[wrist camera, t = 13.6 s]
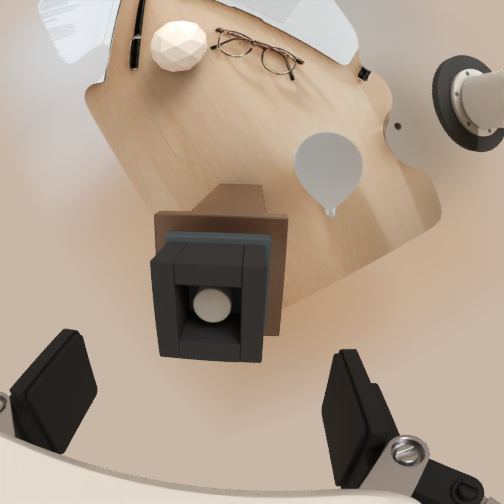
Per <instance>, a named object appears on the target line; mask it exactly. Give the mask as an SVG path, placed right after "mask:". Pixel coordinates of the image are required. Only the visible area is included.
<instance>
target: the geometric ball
mask: <svg viewBox="0 0 504 504" xmlns="http://www.w3.org/2000/svg"><path fill="white" fill-rule="evenodd" d="M150 45H151V53H152V59H153V60H154V61H155V62H156V63H157V64H158V65H159V66H160V67H161V68H162V69H165V70H168V71H172V72H176V71H184V70H190V69H191V68H192V67H193V66H194V65H196V64H197V63H198V62H199V61H200V60H201V59H202V57H203V55H204V54H205V52H206V50H207V40H206V34H205V33H204V32H203V31H202V30H201V29H200V27H199V26H198V25H197V24H195V23H191V22H187V21H183V20H182V21H175V22H168V23H167V24H165V25H164V26H163V27H162V28H160V29H159V30H158V31H157V32H155V34H154V36H153V39H152V41H151V44H150Z"/></svg>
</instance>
